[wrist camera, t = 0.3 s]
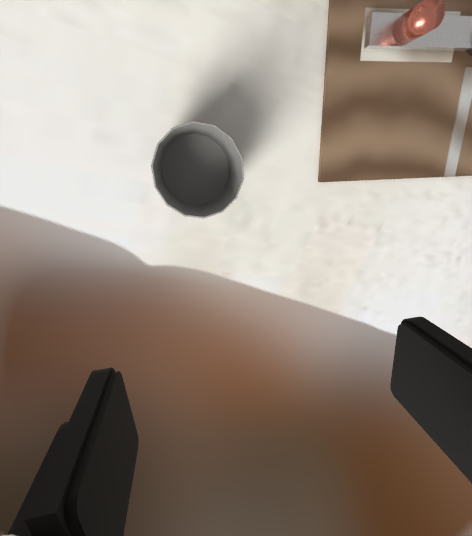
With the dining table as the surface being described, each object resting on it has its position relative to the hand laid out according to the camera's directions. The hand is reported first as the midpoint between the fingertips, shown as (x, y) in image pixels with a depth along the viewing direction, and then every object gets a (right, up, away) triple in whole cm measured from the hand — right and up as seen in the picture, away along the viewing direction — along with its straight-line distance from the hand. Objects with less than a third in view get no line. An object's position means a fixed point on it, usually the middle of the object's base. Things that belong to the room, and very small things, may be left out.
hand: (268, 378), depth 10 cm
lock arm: (+22, +31, +25) cm, 45 cm away
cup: (-6, +16, +27) cm, 31 cm away
